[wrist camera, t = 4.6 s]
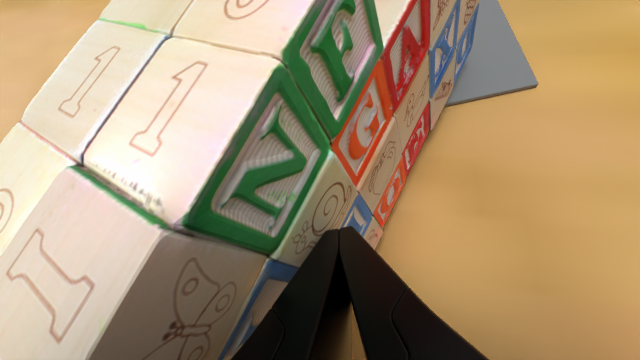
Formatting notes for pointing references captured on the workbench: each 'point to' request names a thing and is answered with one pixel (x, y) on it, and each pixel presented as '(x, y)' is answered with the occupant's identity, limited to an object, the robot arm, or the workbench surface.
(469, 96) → the mat
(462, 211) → the workbench surface
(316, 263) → the robot arm
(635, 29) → the workbench surface
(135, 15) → the stack of blocks
